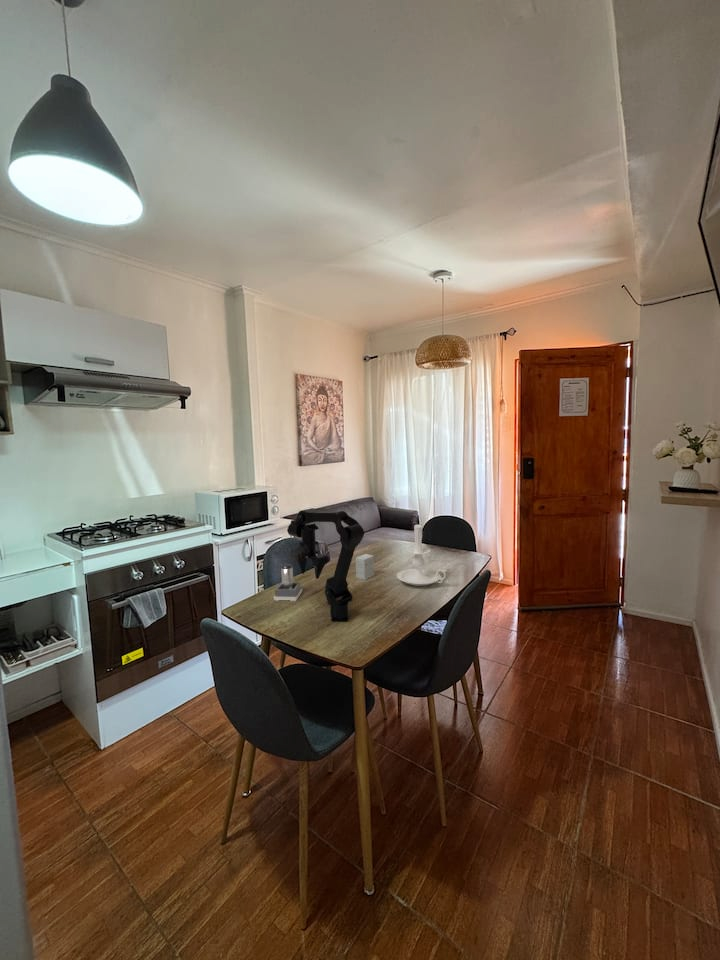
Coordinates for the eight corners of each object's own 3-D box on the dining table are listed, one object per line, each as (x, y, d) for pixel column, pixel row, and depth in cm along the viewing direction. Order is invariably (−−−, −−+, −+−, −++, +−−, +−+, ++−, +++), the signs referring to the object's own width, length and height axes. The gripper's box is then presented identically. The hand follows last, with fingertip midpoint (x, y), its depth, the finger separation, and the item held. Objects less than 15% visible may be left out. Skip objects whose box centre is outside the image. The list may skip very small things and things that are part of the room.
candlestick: (436, 596, 174) (435, 533, 171) (388, 584, 189) (387, 526, 186) (456, 581, 190) (456, 523, 187) (411, 571, 205) (410, 518, 202)
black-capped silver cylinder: (296, 591, 180) (294, 564, 178) (288, 595, 176) (286, 568, 174) (288, 589, 182) (286, 563, 181) (280, 593, 178) (278, 566, 177)
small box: (366, 573, 205) (365, 553, 204) (374, 575, 201) (374, 555, 200) (355, 578, 199) (355, 557, 198) (364, 580, 195) (364, 559, 194)
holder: (302, 591, 184) (301, 582, 183) (296, 600, 174) (295, 590, 173) (281, 591, 185) (280, 581, 184) (273, 600, 175) (273, 590, 174)
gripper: (278, 539, 165) (280, 576, 167) (307, 548, 152) (309, 587, 154) (300, 534, 173) (302, 569, 175) (329, 541, 160) (330, 579, 162)
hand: (310, 576), depth 166 cm, fingers open, 9 cm apart
